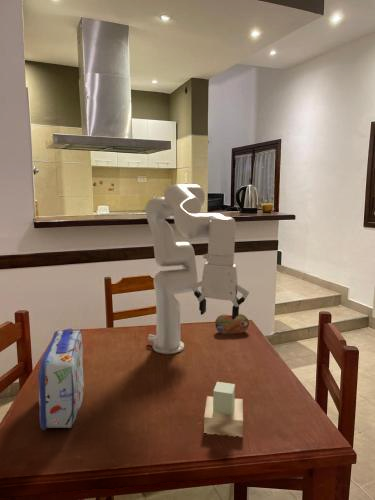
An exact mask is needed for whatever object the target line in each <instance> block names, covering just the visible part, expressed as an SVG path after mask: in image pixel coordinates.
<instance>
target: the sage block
mask: <svg viewBox="0 0 375 500" xmlns="http://www.w3.org/2000/svg"><path fill="white" fill-rule="evenodd" d="M212 394H213V396H212V397H213V412H217V413H223V414H229V415H232V412H233V408H234V404H235V399H236V397H235V396H236V383H228V382H221V381H216V384H215V386H214V388H213V393H212Z"/></svg>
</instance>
